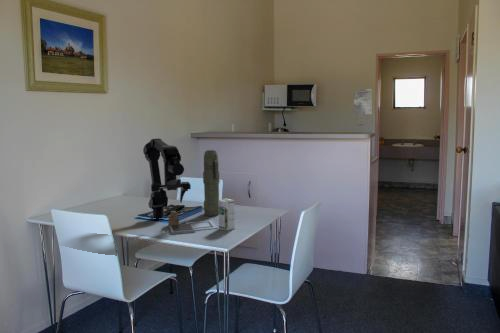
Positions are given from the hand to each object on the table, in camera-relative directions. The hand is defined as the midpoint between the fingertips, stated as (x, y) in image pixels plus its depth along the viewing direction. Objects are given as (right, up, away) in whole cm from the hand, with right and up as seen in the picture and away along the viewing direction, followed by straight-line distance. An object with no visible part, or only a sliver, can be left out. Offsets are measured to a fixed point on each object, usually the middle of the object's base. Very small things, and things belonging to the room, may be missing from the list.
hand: (171, 203), depth 218 cm
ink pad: (+6, -13, -4) cm, 14 cm away
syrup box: (+27, -12, -2) cm, 30 cm away
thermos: (+18, -8, +26) cm, 32 cm away
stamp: (+1, -12, +3) cm, 12 cm away
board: (+14, -11, +3) cm, 19 cm away
